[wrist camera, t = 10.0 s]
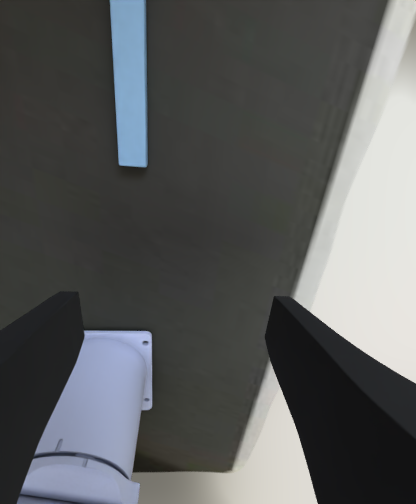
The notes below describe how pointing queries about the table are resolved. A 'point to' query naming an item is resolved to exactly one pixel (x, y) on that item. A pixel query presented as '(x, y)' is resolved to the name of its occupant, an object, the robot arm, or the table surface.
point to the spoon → (130, 80)
